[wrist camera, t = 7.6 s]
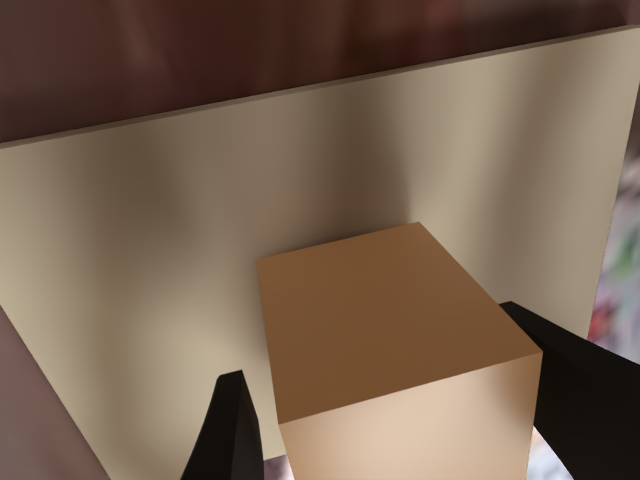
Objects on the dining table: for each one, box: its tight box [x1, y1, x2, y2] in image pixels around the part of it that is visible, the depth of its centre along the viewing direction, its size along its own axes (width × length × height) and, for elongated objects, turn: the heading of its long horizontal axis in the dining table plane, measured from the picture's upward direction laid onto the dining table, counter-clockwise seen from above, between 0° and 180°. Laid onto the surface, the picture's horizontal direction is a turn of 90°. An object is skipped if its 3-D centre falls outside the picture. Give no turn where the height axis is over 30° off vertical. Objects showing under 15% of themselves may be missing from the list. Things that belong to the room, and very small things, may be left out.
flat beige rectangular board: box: [0, 25, 640, 480], centre depth 13 cm, size 20×14×7 cm
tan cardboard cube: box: [256, 222, 543, 480], centre depth 12 cm, size 5×5×6 cm
